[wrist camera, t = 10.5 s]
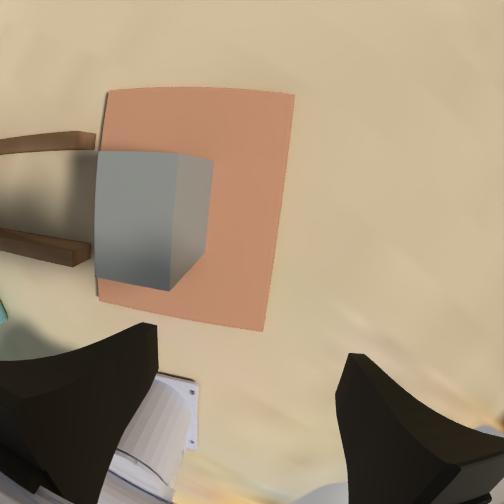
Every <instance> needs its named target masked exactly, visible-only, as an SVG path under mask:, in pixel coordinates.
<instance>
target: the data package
mask: <svg viewBox="0 0 504 504" xmlns="http://www.w3.org/2000/svg"><path fill="white" fill-rule="evenodd" d="M7 319H8V317H7V314H6V312H5V310H4V308H3V306H2V304H1V301H0V325H1V324H2V323H4V322H5V321H6V320H7Z"/></svg>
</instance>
